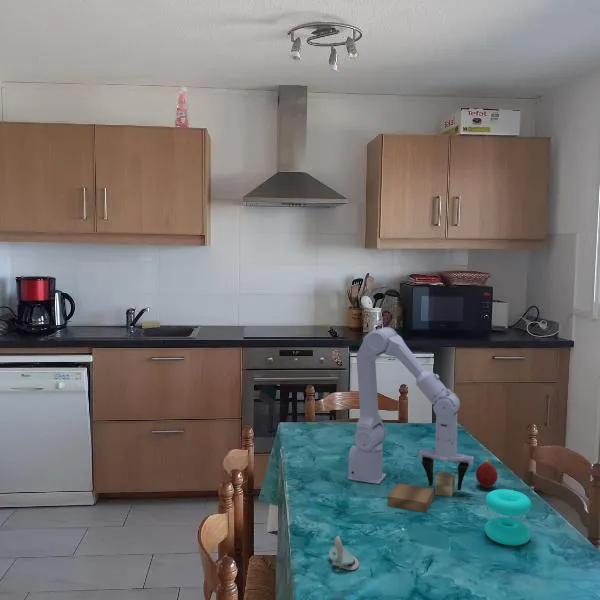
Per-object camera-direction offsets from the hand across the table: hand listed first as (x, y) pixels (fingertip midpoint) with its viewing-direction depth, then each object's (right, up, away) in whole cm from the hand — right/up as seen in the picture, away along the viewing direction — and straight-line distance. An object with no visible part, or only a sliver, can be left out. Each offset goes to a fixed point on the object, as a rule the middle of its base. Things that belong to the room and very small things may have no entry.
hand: (445, 486), depth 169 cm
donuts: (+8, -4, -26) cm, 28 cm away
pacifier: (-30, -5, -39) cm, 49 cm away
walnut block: (-10, -3, -6) cm, 12 cm away
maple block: (0, -2, 0) cm, 2 cm away
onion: (+12, -2, +4) cm, 13 cm away
